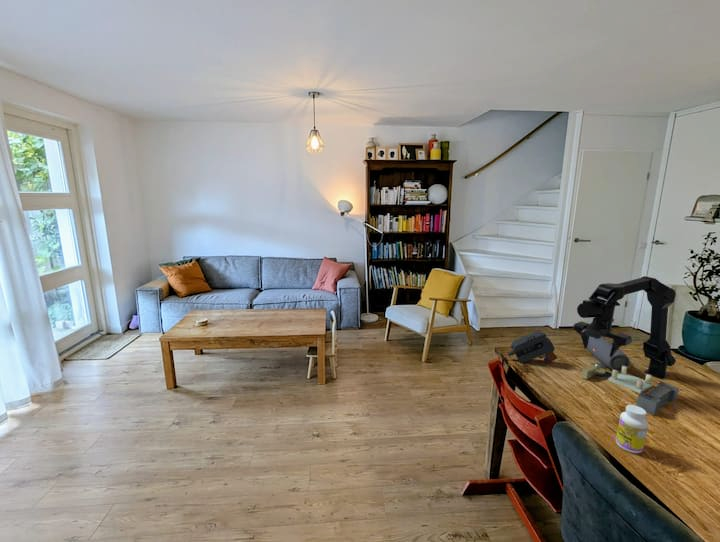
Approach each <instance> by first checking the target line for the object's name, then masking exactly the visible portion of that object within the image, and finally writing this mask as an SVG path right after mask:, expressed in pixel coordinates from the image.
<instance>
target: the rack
mask: <svg viewBox="0 0 720 542" xmlns="http://www.w3.org/2000/svg"><path fill="white" fill-rule="evenodd" d="M627 371H628V369H627V366H625V365H622V368H621V372H618V371H617V370H612V372H611V373H612V376H611V377H609V378H607V379H608V381H609V382H612V383H614V384H616V385H618V386H621V387H623V388H625V389H628V390H630V391H633V392H636V393H638V394H641V393H645V391H647V390H648V389H650V388H652V387H653V386H654V383H653V382H652V378H653V375H650V374H647V373H646V375H645V379H642V378H640V377H637V376H634V375H633V374H629V373H627Z"/></svg>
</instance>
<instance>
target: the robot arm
mask: <svg viewBox="0 0 720 542" xmlns="http://www.w3.org/2000/svg"><path fill="white" fill-rule="evenodd" d="M642 291H644V292H645V293H646V297H647V298H646V299H647V301H648V302H649V303H648V304H650V306H651V313H650V314H651V315H650V316H651V317H650V330H649V331H650V332H649V338H648V339H647V340H645V341H643V344H642V345H643V347H642V348H641V349H642V350H643V353H644V357H645V358H646V359H647V358H648V359H649V362H648V366H647V367H648V368H647V369H645V370H644V371H643V372H644V373H646V374H649V375H652V377H656V378H659V379H662V380H663V379H665V378H667V377H668V376H670V373H667V370H668V367H672V366H674V365H675V364H676V361H677V360H676V358H675V357H674V356H673V354H672V349H671V346H670V344H669V342H668V340H667V331H668V330H667V329H668V316H669V315H668V314H669V308H670V307H671V305H673V304H674V302H675V298H676V296H677V295H676V290H675V289H674V288H672V287H670V286H667V285H666V284H665V283H662V282H660V280H658V279H657V278H656V277H652V276H641V277H639V278H635V279H631V280H627V281H623V282H620V283H600V284H599V285H597V287H596V288H595V290H594V291H593V292H592V293H591V295H590V296H589V297H588V300H587V299H584V300H582V303H579V305H578V306H577V308H576V311H577V312H576V313H577V314H578V316H579V317H581V318H583V319H588V318H589V319H591V318H592V322H590V323H588V322H584V321H579V322H575V323H574V324H573V327H572V330H573V331H575V332H576V333H577V334H578V335H580V337H581V341H583V342H582V345H583V344H584V345H583V348H584V349H586V348H587V346H588V341H589V336H591V337H594V338H595V339H599V338H600V337H602V338H609V339H612V341H613V342H611V344H612V349H611V352H610V357H612V356H613V355H614V354H615V352H616V351H617V350H618V349H619V350H620V348H621V347H623V346H624V347H626V346H628V345H630V344H632V341H633V338H632V336H631V335H629V334H626V333H621V332H619V333H617V334H616V333H612V331H613V328H612V326H613V322H614V321H615V318H614V315H615V308H616V307H619V306H621V304H620V303H619V302H618V301H620V300H622V299H623V298H624V297H625V296H626V295H630V294H633V293H637V292H642ZM586 350H587V349H586Z"/></svg>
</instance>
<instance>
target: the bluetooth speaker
mask: <svg viewBox="0 0 720 542" xmlns="http://www.w3.org/2000/svg"><path fill="white" fill-rule="evenodd" d="M581 341H582V340H581ZM582 345H583V346H584V344H583V341H582ZM611 349H612V342H610V341H608V340H607V339H605V337H603V336H602V337H600V338H599V339H595V338H594V337H591V336H589V341H588V346H587V348H586V350H587V351H588V352H589V353H590V354H591V355H592V356H593V357H594V359H595V360H596V361H597V362H598V363H600V364H602V365H604V366H605V367H606V368H608V369H610V370H611V371H613V370H617V371H618V373H620V372H621V368H622V365H625V366H627V370H628V369H629V368H630V366H631V360H630V358H629V356H628V355H626V354H625V352H623V351H622V350H621V349H620V348H619V349H618V350H617V351H616V352H615V354H614V355H613V356H612V357H610V352H611Z"/></svg>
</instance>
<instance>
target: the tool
mask: <svg viewBox="0 0 720 542" xmlns="http://www.w3.org/2000/svg"><path fill="white" fill-rule="evenodd" d="M509 348H510V349H511V350H510V351H508V352H507V355H508V356H509V357H510V356H513V355H515V357H516V359H517V360H518V362H519V363H521V364H522V363H525V362H529V361H531V360H533V359H536V358H538V359H543V360H544V362H545V364H549V363H551V362H553V361H556V360H557V358H558V357H557V355H556V354H555V346H554V344H553V342H552V341H551V339H550V338H549V337H547V335H546V333H545V332H544V331H543V332H542V331H541V330H536V331H534V332H532V333H529V334H526V335H524V336H522V337H519V338H517V339H514V340H513V341H512V342H511V345H509Z"/></svg>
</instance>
